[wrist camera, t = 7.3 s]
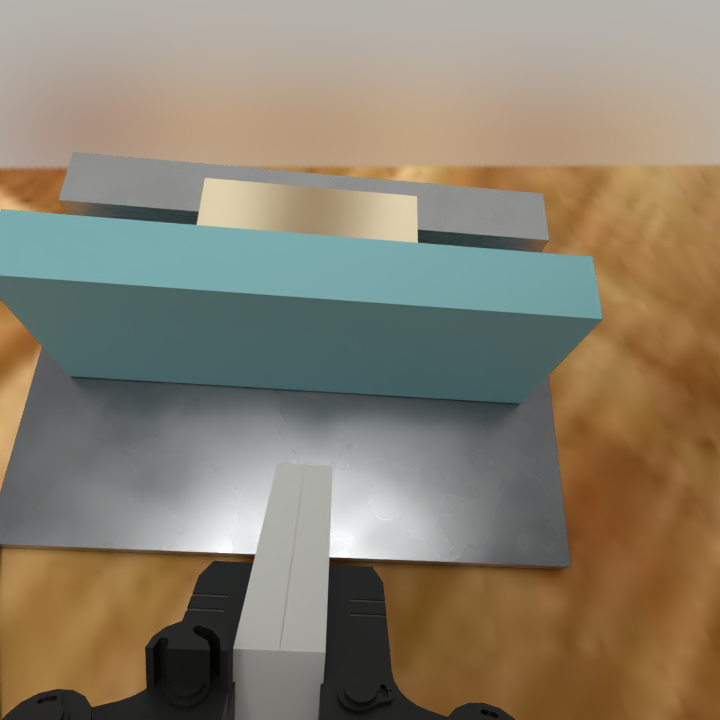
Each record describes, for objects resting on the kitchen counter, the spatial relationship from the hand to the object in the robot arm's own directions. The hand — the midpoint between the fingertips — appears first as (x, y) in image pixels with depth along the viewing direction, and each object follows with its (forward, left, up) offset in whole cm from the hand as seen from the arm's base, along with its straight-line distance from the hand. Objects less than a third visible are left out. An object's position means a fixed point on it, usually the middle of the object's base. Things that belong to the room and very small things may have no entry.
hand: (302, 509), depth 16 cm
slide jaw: (0, -8, -8) cm, 11 cm away
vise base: (0, -8, -9) cm, 12 cm away
